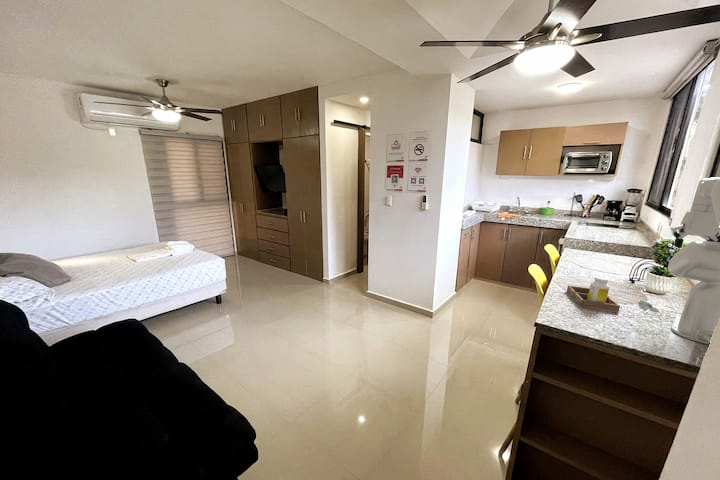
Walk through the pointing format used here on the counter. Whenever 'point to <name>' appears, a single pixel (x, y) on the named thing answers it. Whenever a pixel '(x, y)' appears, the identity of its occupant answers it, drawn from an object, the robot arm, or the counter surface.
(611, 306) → the wooden divided tray
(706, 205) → the robot arm
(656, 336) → the counter surface
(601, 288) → the supplement bottle
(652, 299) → the counter surface
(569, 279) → the counter surface
